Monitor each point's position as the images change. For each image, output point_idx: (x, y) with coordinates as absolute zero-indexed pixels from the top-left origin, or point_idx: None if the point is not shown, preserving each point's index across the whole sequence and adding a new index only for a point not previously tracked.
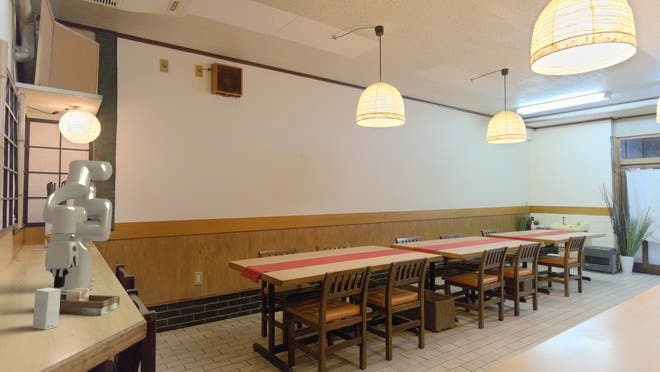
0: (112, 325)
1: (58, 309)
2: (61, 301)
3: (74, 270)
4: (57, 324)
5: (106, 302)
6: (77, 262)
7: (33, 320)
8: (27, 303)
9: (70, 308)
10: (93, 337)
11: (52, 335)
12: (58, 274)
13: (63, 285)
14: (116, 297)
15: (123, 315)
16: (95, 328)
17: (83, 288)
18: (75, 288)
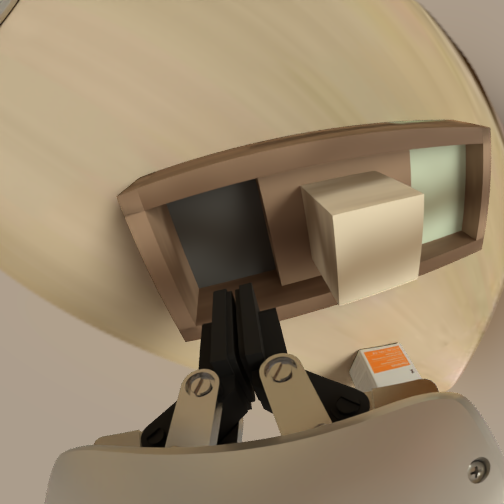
0: (488, 276)
1: (419, 376)
2: (327, 305)
3: (430, 388)
4: (401, 347)
5: (482, 221)
6: (487, 442)
7: (356, 385)
8: (22, 227)
9: None
10: (474, 330)
11: (416, 363)
12: (236, 409)
13: (253, 293)
14: (490, 151)
15: (490, 200)
16: (468, 305)
17: (388, 205)
18: (334, 230)
